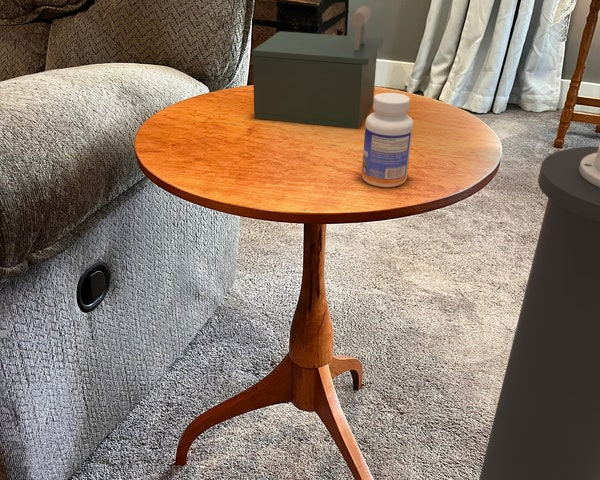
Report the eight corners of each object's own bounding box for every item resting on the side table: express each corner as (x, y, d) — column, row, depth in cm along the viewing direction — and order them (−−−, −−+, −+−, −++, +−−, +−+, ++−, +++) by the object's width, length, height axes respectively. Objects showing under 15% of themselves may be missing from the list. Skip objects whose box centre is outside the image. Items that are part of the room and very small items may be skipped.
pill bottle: (366, 168, 80) (372, 88, 74) (410, 173, 78) (419, 92, 73) (356, 184, 75) (362, 101, 70) (402, 191, 74) (411, 106, 69)
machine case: (373, 101, 103) (377, 43, 98) (358, 128, 92) (362, 64, 87) (279, 93, 106) (279, 36, 101) (254, 118, 95) (252, 56, 90)
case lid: (383, 43, 98) (386, 2, 95) (368, 64, 87) (371, 18, 84) (279, 36, 101) (279, -4, 98) (252, 56, 90) (251, 11, 87)
